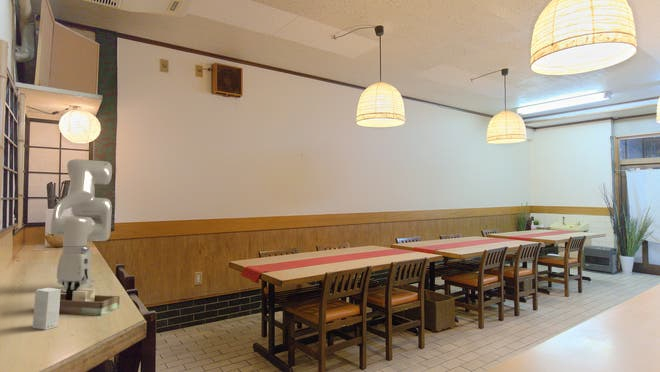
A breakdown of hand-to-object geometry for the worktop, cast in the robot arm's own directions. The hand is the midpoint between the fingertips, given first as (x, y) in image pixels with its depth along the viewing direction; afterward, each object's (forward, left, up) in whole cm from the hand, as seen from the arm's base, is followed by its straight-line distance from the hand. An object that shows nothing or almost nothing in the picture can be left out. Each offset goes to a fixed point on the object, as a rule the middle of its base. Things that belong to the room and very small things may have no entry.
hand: (70, 299), depth 141 cm
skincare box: (+20, +7, -4) cm, 21 cm away
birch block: (0, +5, -1) cm, 5 cm away
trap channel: (0, +3, -4) cm, 5 cm away
